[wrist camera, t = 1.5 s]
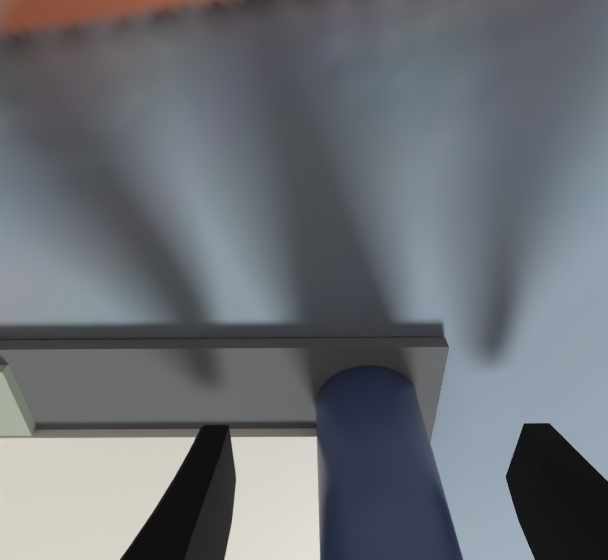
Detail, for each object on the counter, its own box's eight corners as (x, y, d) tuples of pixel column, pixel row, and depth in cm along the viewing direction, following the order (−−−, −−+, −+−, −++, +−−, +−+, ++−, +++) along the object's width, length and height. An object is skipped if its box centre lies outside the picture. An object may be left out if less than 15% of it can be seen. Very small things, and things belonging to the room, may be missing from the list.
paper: (329, 428, 13) (329, 436, 13) (325, 573, 18) (325, 581, 17) (-82, 430, 14) (-89, 438, 13) (11, 574, 18) (7, 582, 17)
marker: (424, 363, 12) (542, 719, 6) (412, 438, 14) (496, 782, 8) (313, 364, 12) (323, 719, 6) (314, 438, 14) (320, 782, 8)
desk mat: (444, 337, 12) (448, 346, 12) (400, 575, 18) (402, 586, 18) (-158, 341, 12) (-172, 350, 12) (0, 576, 19) (-6, 587, 18)
